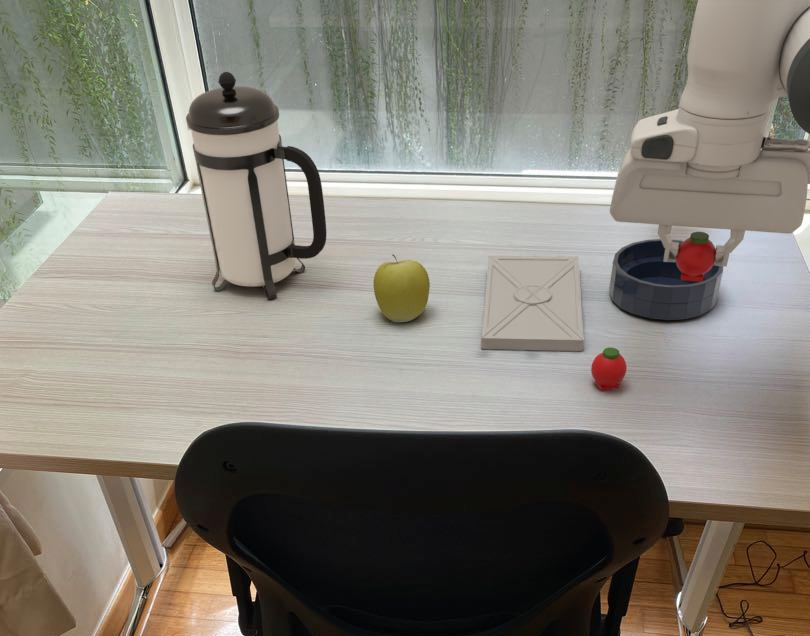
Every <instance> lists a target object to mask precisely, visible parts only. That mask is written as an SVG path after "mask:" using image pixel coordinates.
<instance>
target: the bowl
mask: <svg viewBox="0 0 810 636" xmlns="http://www.w3.org/2000/svg"><path fill="white" fill-rule="evenodd" d="M671 240H672V242H679V246H680V245H681V244H682V243H683V242H684V241H685V240H680V239H671ZM664 253H665V248H664V246H663V244H662V242H661V239H660V238H657V239H656V238H654V239H643V240H639V241H635V242H631V243H629V244H627V245H624V246H622V247H621V248H620V249H619V250H618V251H616V252H615V253H614V257H613V260H612V267H611V276H610V282H609V290H608V294H609V296H610V298H611V301H612V302H614V303H615V304H616V305H617V306H618V307H619V308H620V309H622V310H624V311H626V312H628V313H631V314H632V315H636V316H639V317H642V318H646V319H652V320H663V321H675V320H687V319H692V318H696V317H699V316H702V315H704V314H706V313H707V312H710V311H711V310H712V308H714V306H715V305H716V304H717V301H718V295H719V291H720V287H721V282H722V277H723V273H724V266H713V267H712V268H711V269H710V270H709V271H708V272H707V273H705V274H704V275H703V281H702V282H699V281H687V280H681V273H682V272H681V271H680V270H679V269H678V267H677V264H676V262H663V260H664Z"/></svg>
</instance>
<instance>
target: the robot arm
mask: <svg viewBox="0 0 810 636" xmlns="http://www.w3.org/2000/svg"><path fill="white" fill-rule="evenodd" d="M691 26H692V27H691V31H690V36H689V43H688V48H687V53H686V64H687V78H686V79H687V80H686V83H685V86H684V89H683V91H682V93H681V96H680V99H679V105H678V108H676V109H673V110H669V111H666V112H663V113H659V114H656V115H652V116H648V117H644V118H642V119H639V120H638V121H637V123H636V124H635V126H634V128H633V129H632V132H631V135H630V141H629V149H628V150H627V151H626V152H625V153H624V155H623V158H622V160H621V163H620V165H619V170H618V171H617V172H618V173H617V175H616V180H615V183H614V187H613V192H612V196H611V199H610V200H611V202H610V207H609V214H610V215H611V217H612V219H613V220H614V221H615V222H616V223H617V222H619V223H630V224H631V223H632V224H646V225H658V230H657V235H658V237H659V239H661V242H662V244H663V246H664V248H665V253H664V260H663V262H676V261H677V255H678V250H679V242H672V240H673V239H672V238H671V235H670V234H671V232H672V227H686V228H687V227H689V228H701V229H703V228H704V229H717V230H730V236H729V237H730V238H729V239H727V240H726V242H725V243H724V244H723V245H721V244H719V245H718V244H717V245H716V246H715V249H716V253H715V261H714V264H713V266H723V267H727V266H728V262H729V258H730V254H731V253H732V252H733V251H734V250H735V249H736V248H737V247H738V246H739V245H740V244H741V243H742V241H744V239H745V232H746V231H747V232H761V233H771V234H774V233H775V234H786V235H787V234H788V235H790V234H793V233H795V231H797V230H798V229H799V228H800V227H801V226H802V224H803V220H804V217H805V211H806V206H807V199H808V188H809V187H808V186H809V185H810V150H809V149H810V140H808V139H805V138H796V139H787V138H782V137H770V136H769V137H768V136H765V134H766V129H767V123H768V119H769V115H770V112H771V110H770V109H771V107H772V102H773V101H775V100H776V99H778V98H787V99H788V104H789V108H790V111H791V115H792V118H793V119H794V120H795V123H796V124H797V125H798V126H799V127H800V128H801V129H802V130H803V131H804V132H805V133H807V134H808V135H810V0H697V3H696V7H695V11H694V16H693V19H692V25H691Z"/></svg>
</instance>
